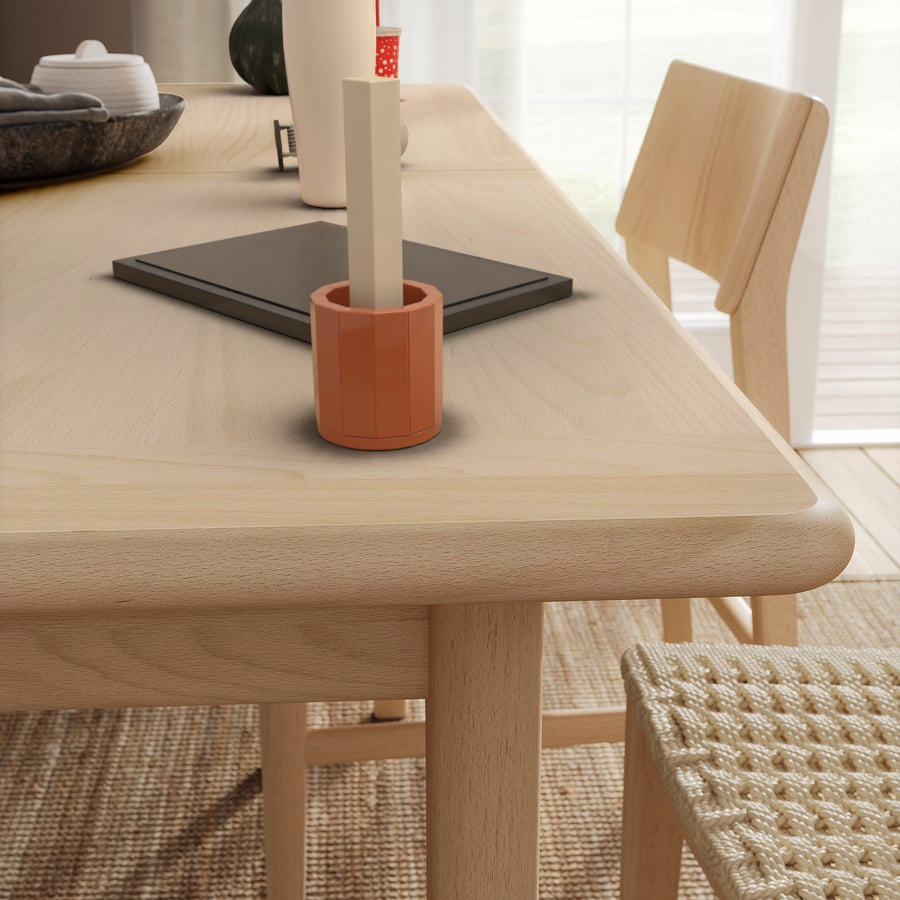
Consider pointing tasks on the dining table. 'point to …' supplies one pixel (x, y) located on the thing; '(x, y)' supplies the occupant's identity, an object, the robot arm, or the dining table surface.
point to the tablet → (328, 277)
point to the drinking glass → (324, 86)
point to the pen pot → (377, 368)
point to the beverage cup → (386, 48)
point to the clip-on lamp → (293, 144)
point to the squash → (260, 46)
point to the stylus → (373, 191)
